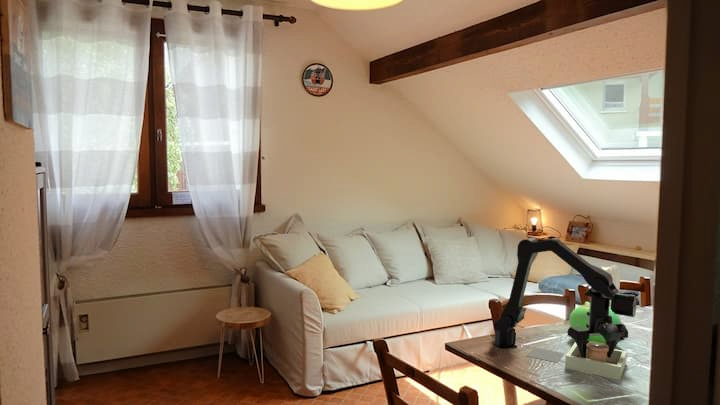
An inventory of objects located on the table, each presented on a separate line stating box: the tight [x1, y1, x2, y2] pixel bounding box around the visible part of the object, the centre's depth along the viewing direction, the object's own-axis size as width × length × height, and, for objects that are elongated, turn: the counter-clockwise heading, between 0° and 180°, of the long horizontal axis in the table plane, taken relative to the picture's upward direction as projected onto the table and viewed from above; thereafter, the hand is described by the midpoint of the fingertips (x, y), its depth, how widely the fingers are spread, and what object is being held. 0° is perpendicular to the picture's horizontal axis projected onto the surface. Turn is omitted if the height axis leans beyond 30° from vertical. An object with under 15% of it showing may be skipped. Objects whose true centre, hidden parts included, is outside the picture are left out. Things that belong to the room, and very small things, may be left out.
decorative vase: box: [598, 264, 621, 319], centre depth 224 cm, size 11×11×25 cm
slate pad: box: [526, 347, 565, 364], centre depth 187 cm, size 10×10×1 cm
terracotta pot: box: [586, 342, 609, 363], centre depth 178 cm, size 7×7×7 cm
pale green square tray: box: [564, 341, 628, 381], centre depth 179 cm, size 16×16×4 cm
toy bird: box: [568, 301, 623, 344], centre depth 202 cm, size 18×17×15 cm
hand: (596, 358), depth 179 cm, fingers open, 9 cm apart
